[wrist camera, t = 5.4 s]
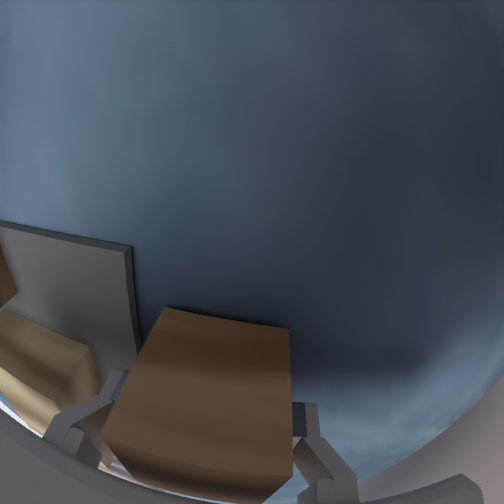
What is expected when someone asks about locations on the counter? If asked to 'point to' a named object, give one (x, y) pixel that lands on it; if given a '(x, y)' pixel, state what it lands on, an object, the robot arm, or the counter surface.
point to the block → (6, 282)
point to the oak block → (207, 409)
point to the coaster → (124, 473)
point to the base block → (45, 374)
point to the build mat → (75, 291)
